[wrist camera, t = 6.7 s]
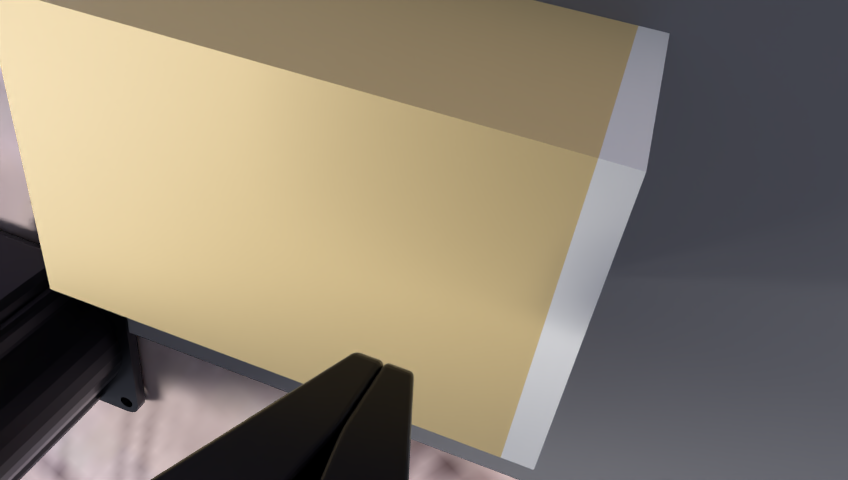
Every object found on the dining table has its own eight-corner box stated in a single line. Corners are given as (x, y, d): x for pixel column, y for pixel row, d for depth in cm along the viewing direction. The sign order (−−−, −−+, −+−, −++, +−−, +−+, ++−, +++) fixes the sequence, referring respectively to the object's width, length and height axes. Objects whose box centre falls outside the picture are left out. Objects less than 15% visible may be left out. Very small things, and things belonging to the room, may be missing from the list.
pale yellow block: (534, 469, 12) (50, 289, 14) (583, 276, 17) (218, 160, 19) (646, 171, 9) (-18, -16, 11) (669, 33, 13) (209, -79, 15)
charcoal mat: (781, 564, 20) (782, 579, 20) (132, 321, 25) (122, 330, 24) (1661, -518, 8) (1712, -533, 7) (-2, -643, 12) (-27, -659, 11)
